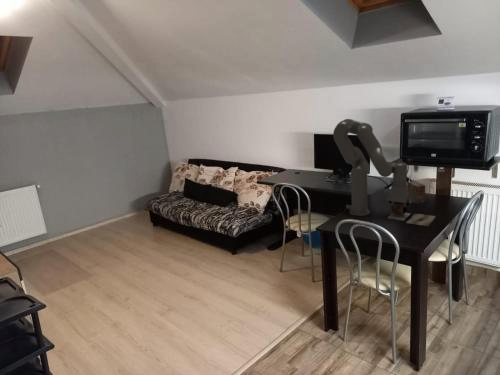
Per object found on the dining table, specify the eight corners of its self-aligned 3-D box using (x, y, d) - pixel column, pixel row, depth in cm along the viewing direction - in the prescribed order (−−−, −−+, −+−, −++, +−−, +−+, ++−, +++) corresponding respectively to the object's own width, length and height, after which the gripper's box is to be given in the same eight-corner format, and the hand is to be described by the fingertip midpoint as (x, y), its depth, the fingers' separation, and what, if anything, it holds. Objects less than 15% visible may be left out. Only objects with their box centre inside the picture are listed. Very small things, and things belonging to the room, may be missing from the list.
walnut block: (392, 214, 233) (392, 203, 231) (395, 211, 238) (395, 200, 236) (402, 215, 229) (402, 204, 228) (405, 212, 234) (405, 201, 232)
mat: (386, 218, 232) (386, 218, 232) (394, 211, 242) (394, 211, 242) (403, 220, 225) (403, 220, 225) (410, 213, 236) (410, 213, 236)
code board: (405, 222, 222) (405, 222, 222) (414, 213, 236) (414, 213, 236) (428, 226, 215) (428, 226, 215) (435, 216, 228) (435, 216, 228)
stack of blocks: (401, 195, 274) (401, 178, 271) (409, 194, 274) (410, 177, 271) (415, 204, 253) (416, 186, 250) (424, 203, 253) (425, 185, 250)
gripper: (383, 183, 231) (382, 211, 236) (413, 186, 220) (411, 215, 225) (387, 180, 237) (386, 208, 241) (416, 183, 226) (415, 212, 231)
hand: (399, 211), depth 233 cm, fingers closed on walnut block, 5 cm apart
